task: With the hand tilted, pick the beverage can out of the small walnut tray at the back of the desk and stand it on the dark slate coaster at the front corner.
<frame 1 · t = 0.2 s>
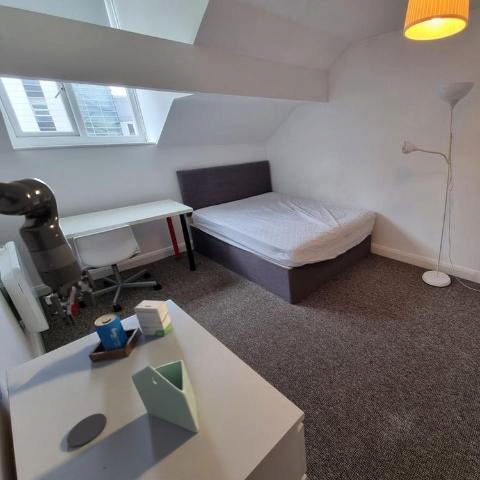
hand: (82, 315, 72), 22 cm above the table, tool pointing down, fingers open, 8 cm apart
tray: (118, 347, 91), on the table
beverage can: (118, 347, 91), resting in tray
coaster: (88, 430, 66), on the table
planter: (183, 408, 71), on the table
ink box: (158, 331, 98), on the table
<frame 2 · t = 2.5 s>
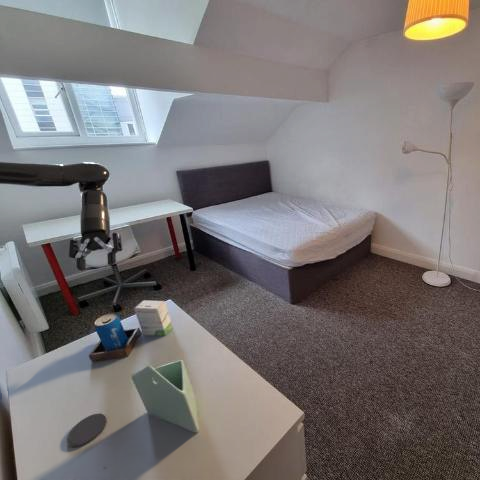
hand: (96, 267, 86), 27 cm above the table, tool tilted 40°, fingers open, 8 cm apart
nothing on the table moved.
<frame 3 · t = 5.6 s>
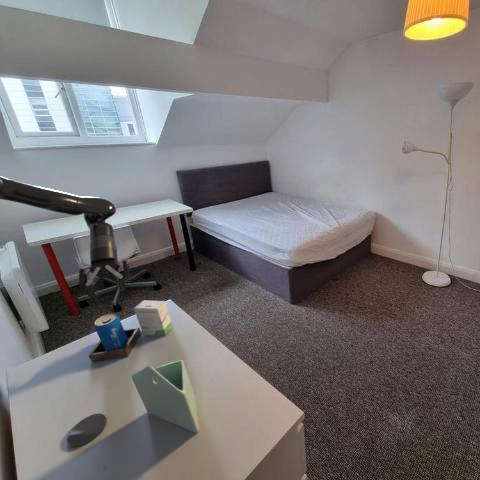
hand: (107, 293, 92), 16 cm above the table, tool tilted 45°, fingers open, 8 cm apart
nothing on the table moved.
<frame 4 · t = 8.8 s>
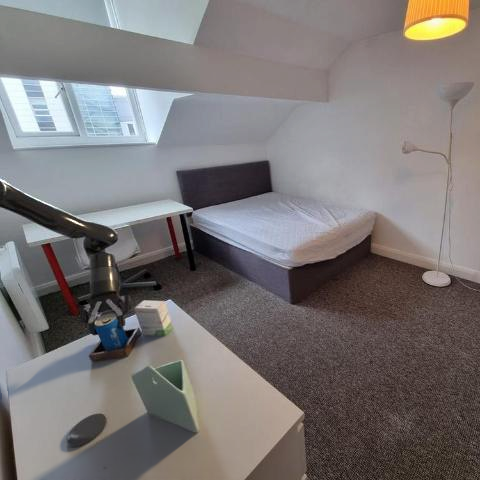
hand: (108, 331, 86), 8 cm above the table, tool tilted 45°, fingers closed on beverage can, 6 cm apart
beverage can: (118, 347, 91), resting in tray, touching gripper
everything else where it was.
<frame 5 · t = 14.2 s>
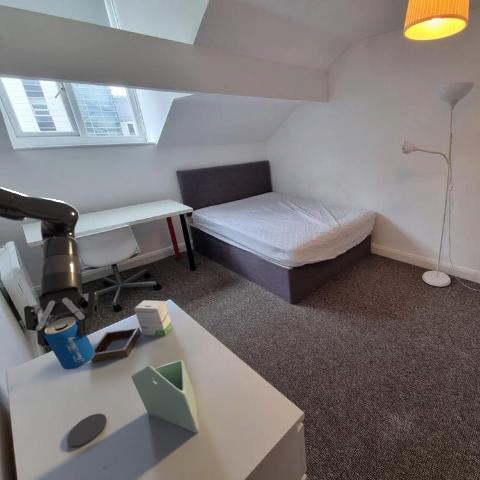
hand: (64, 340, 64), 22 cm above the table, tool tilted 45°, fingers closed on beverage can, 6 cm apart
beverage can: (80, 361, 69), point 13 cm above the table, touching gripper
everything else where it was.
when the fingers open (9 cm above the table, at t = 19.6 s): beverage can stays where it is, resting on coaster.
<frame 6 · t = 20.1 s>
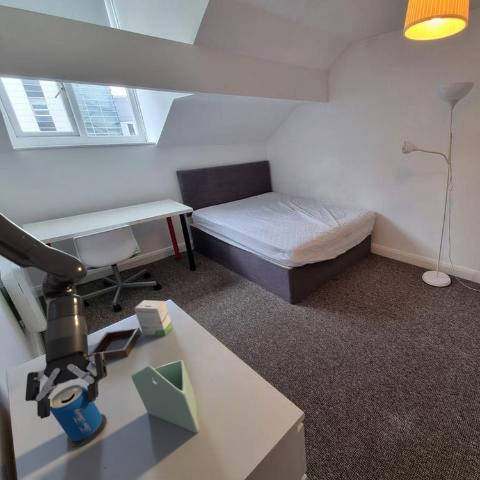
hand: (69, 409, 61), 10 cm above the table, tool tilted 45°, fingers open, 8 cm apart
beverage can: (87, 428, 66), resting on coaster
everything else where it was.
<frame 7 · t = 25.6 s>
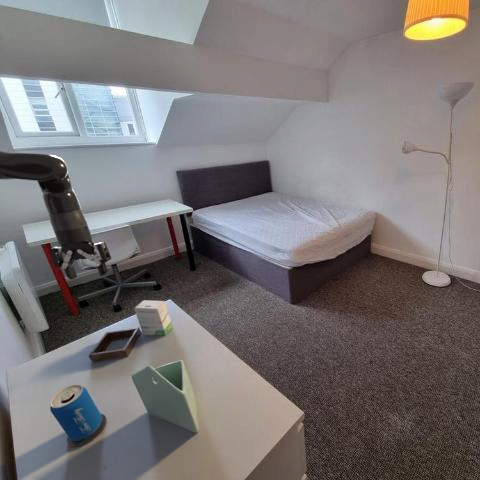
hand: (89, 276, 83), 26 cm above the table, tool pointing down, fingers open, 8 cm apart
nothing on the table moved.
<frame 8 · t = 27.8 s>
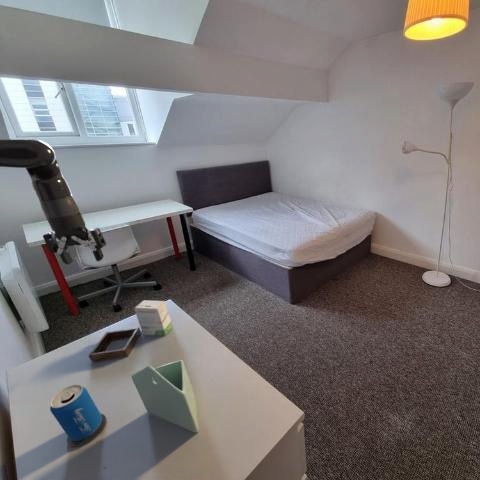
hand: (85, 261, 84), 30 cm above the table, tool pointing down, fingers open, 8 cm apart
nothing on the table moved.
at the end: beverage can 0.1 cm off-centre on the coaster, point 0.4 cm above the coaster's base; beverage can tilted 0°; the gripper is holding nothing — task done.
